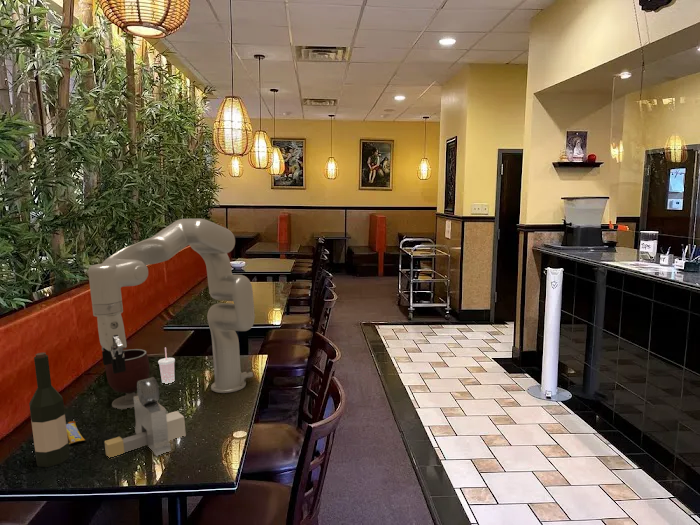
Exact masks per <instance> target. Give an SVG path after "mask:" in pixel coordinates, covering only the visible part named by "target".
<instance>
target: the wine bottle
mask: <svg viewBox="0 0 700 525" xmlns="http://www.w3.org/2000/svg"><path fill="white" fill-rule="evenodd" d="M33 359H34V361H33V362H34V369H35V377H36V385H37V388H36V389H35V392H34V394H33V396H32V397H31V399H30V400H29V403H28V404H29V412H30V419H31V420H30V422H31V429H32V435H33V445H34V453H35V460H36V461H35V462H36V465H37V466H36V467H42V468H49V467H53V466H56V465H59V464H60V465H61V464H63V463H64V462H65V461H67V460H68V459H69V458H70V457H71V456H70V448H69V440H68V438H67V429H66V424H67V421H66V412H65V404H64V398H63V396H62V395H61V394H60V393H59V391H58V390H57V389H56V387H54V386H53V385H52V379H51V371H50V362H49V355H48V354H47V353H46V352H38V353H35V355H34V357H33Z"/></svg>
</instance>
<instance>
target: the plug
mask: <svg viewBox="0 0 700 525" xmlns="http://www.w3.org/2000/svg"><path fill="white" fill-rule="evenodd" d="M166 418H167V429H168V441H169V442H171V441H170V440H172V441H174V440H173V439H175V438H178V439H180V438H179V437H181V438H183V437H182V436H184V437H186V436H187V432H186V422H185V416H184V415H183V414H182V413H180V412H179V411H178V410H175V411H172V412H167V413H166ZM175 440H176V439H175ZM145 445H148V438H147V431H146V432H142V433H139V434H136V433H135V434H133V435H128V436H127V437H123V438H122V437H121V436H117V437H116V436H115V437H112V438H110V439H107V440H104V448H105V456H106V457H107V456H108V457H109V458H110V457H114V456H117V455H120V454H123V453H125V452H128V451H131V450H134V449H137V448H140V447H142V446H145ZM108 457H107V458H108ZM117 457H118V456H117ZM109 458H108V459H109ZM114 458H115V457H114Z"/></svg>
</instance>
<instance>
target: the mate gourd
mask: <svg viewBox="0 0 700 525" xmlns="http://www.w3.org/2000/svg"><path fill="white" fill-rule="evenodd" d="M123 351H124V357H125V367H126V371H124V372H120V373H116V374H114V373H113V368H112V364H108V365H105V373H106V374H105V375H106V379H107V383H108V385H109V387H110V388H111V389H113V391H115V392H117V393H123V394H124V393H125V395H122V396H120V397H118V398H115V399H114V400H112V402H111V406H112V408H114V409H116V408H117V410H128V409H127V408H130V409H133V408H132V407H134V398H133V397H135V396H138V393H137V382H138V381H140V380H144V379H148V378H150V370H151V369H150V361H149V357H148V354H147V350H145V349H141V348H134V349H133V348H132V349H123ZM115 352H116V351H115Z"/></svg>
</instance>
